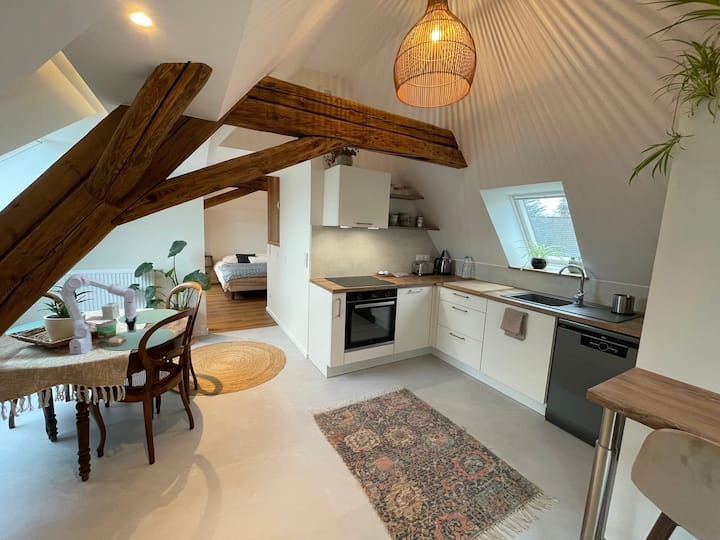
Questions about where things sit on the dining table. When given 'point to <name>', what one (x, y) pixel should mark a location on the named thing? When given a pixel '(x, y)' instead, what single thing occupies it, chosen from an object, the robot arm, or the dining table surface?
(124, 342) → the base slab
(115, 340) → the top block
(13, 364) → the dining table surface
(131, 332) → the cylinder
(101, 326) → the food container
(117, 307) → the light bulb box
